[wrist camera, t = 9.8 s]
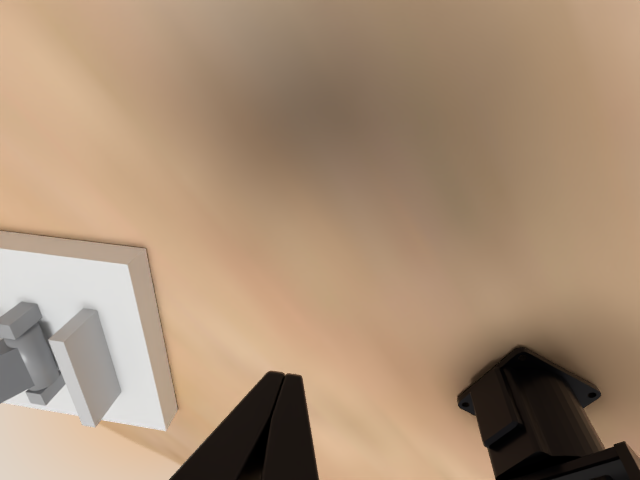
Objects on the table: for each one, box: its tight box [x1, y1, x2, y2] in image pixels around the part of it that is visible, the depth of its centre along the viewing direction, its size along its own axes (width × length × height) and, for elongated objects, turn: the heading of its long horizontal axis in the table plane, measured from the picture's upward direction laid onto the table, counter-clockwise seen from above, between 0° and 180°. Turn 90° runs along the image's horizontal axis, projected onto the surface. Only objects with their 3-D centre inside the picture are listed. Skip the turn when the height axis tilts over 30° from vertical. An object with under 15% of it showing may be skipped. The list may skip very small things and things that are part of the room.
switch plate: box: [0, 231, 178, 431], centre depth 27 cm, size 16×16×5 cm
